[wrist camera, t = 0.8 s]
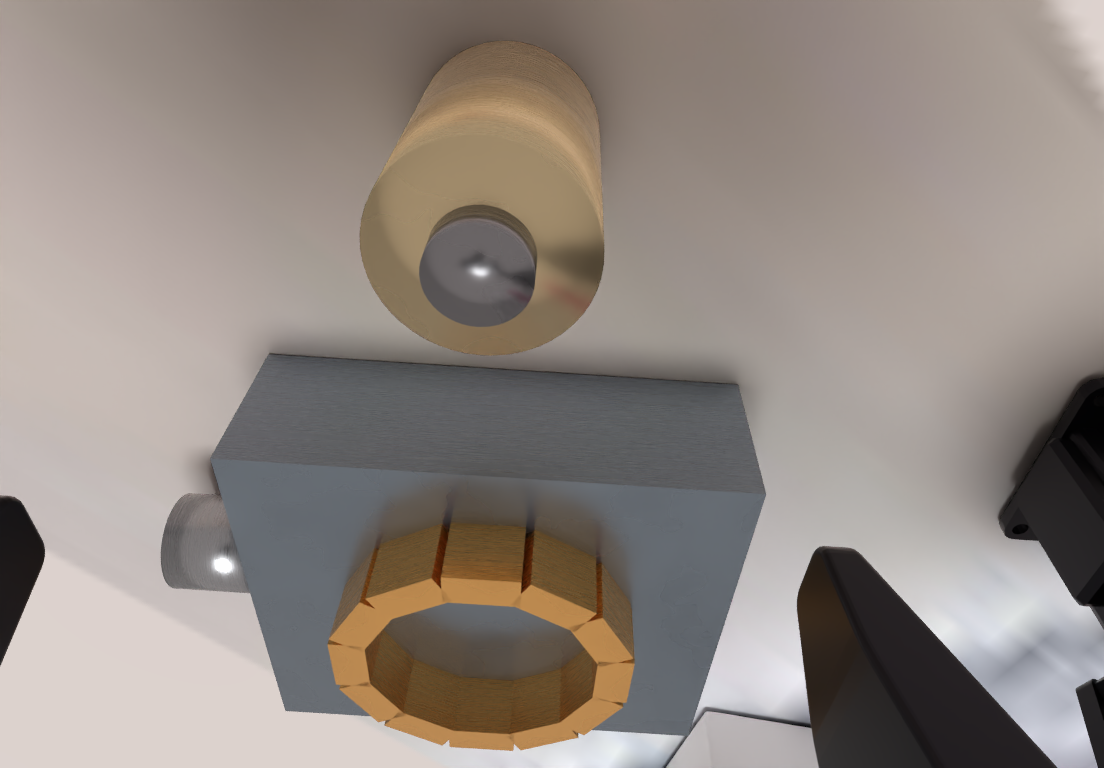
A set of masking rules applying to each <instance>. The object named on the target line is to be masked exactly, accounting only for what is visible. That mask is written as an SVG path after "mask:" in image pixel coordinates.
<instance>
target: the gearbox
mask: <svg viewBox="0 0 1104 768" xmlns="http://www.w3.org/2000/svg"><path fill="white" fill-rule="evenodd" d="M210 460H211V463H212V467H213V470H214V473H215V477H216V480H217V483H218V487H219V490H220V493H221V495H209V494H193V493H189V494H186V495H184V496H183V497H181V498H180V499H179V500H178V502H177V503H176V504H175V506H174V507H173V509H172V511H171V513H170V515H169V517H168V520H167V523H166V526H165V530H164V534H163V539H162V546H161V567H162V572H163V576H164V579H165V581H166V582H167V584H168V585H169V586H170V587H172V588H176V589H192V590H208V591H223V592H239V593H250V594H251V597H252V600H253V604H254V607H255V610H256V614H257V617H258V620H259V624H260V627H261V630H262V634H263V637H264V640H265V644H266V647H267V650H268V654H269V657H270V660H271V664H272V667H273V670H274V674H275V677H276V681H277V683H278V687H279V690H280V694H281V697H282V700H283V704H284V707H285V710H286V711H298V712H313V713H330V714H345V715H361V716H372V717H373V718H374V719H375V720H376V721H378V722H382V721H385V726H387V727H390V728H393V729H396V730H399V731H402V732H405V733H408V734H411V735H414V736H417V737H419V738H422V739H425V740H428V741H431V742H434V743H437V744H440V745H443V744H444V743H446V742H447V741H448V740H449V742H450V747H461V748H477V749H493V750H509V751H513V748H514V744H515V745H516V746H517V747H518V748H519V749H520V750H524V749H529V748H533V747H538V746H542V745H547V744H551V743H556V742H560V741H565V740H569V739H574V738H578V733H580V734H583V735H585V734H586V733H588V732H589V731H591V730H602V731H618V732H634V733H650V734H666V735H682V736H688V735H689V732H690V728H691V725H692V722H693V719H694V716H695V713H696V710H697V707H698V704H699V701H700V697H701V694H702V691H703V688H704V685H705V682H706V679H707V676H708V673H709V670H710V667H711V663H712V660H713V657H714V654H715V651H716V648H717V645H718V642H719V639H720V636H721V632H722V629H723V626H724V623H725V620H726V617H727V614H728V611H729V608H730V605H731V601H732V598H733V595H734V592H735V589H736V586H737V583H738V580H739V577H740V574H741V571H742V567H743V564H744V561H745V558H746V555H747V552H748V549H749V546H750V543H751V540H752V536H753V533H754V530H755V527H756V524H757V521H758V518H759V515H760V512H761V509H762V505H763V502H764V499H765V496H766V492H765V488H764V484H763V480H762V476H761V472H760V468H759V465H758V461H757V457H756V453H755V449H754V445H753V441H752V437H751V433H750V429H749V425H748V422H747V418H746V414H745V410H744V406H743V402H742V398H741V394H740V390H739V386H738V385H733V384H717V383H702V382H687V381H671V380H656V379H641V378H625V377H610V376H595V375H579V374H564V373H548V372H533V371H518V370H502V369H487V368H472V367H456V366H441V365H426V364H410V363H395V362H380V361H364V360H349V359H333V358H318V357H303V356H287V355H272V354H269V355H268V356H267V358H266V360H265V362H264V364H263V365H262V367H261V369H260V371H259V372H258V374H257V376H256V378H255V380H254V381H253V383H252V385H251V387H250V388H249V390H248V392H247V394H246V396H245V397H244V399H243V401H242V403H241V404H240V406H239V408H238V410H237V412H236V413H235V415H234V417H233V419H232V420H231V422H230V424H229V426H228V428H227V429H226V431H225V433H224V435H223V436H222V438H221V440H220V442H219V444H218V445H217V447H216V449H215V451H214V453H213V454H212V456H211V458H210Z"/></svg>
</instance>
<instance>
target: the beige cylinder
mask: <svg viewBox="0 0 1104 768" xmlns="http://www.w3.org/2000/svg"><path fill="white" fill-rule="evenodd" d="M360 249H361V255H362V261H363V264H364V267H365V270H366V274H367V276H368V278H369V281H370V283H371V285H372V287H373V289H374V290H375V292H376V294H377V295H378V297H379V298H380V300H381V301H382V303H383V304H384V305H385V306H386V307H387V309H388V310H389V311H390V312H391V313H392V314H393V315H394V316H395V317H396V318H397V319H398V320H399V321H400V322H401V323H403V324H404V325H405V326H407V327H408V328H409V329H410V330H412V331H413V332H415V333H416V334H418V335H420V336H421V337H423V338H425V339H427V340H429V341H431V342H433V343H435V344H437V345H440V346H442V347H445V348H448V349H451V350H455V351H459V352H463V353H468V354H476V355H506V354H513V353H518V352H523V351H527V350H530V349H533V348H536V347H539V346H541V345H543V344H545V343H547V342H549V341H551V340H553V339H554V338H556V337H558V336H559V335H561V334H562V333H564V332H565V331H566V330H567V329H569V328H570V327H571V326H572V325H573V324H574V323H575V322H576V321H577V320H578V319H579V318H580V317H581V316H582V315H583V313H584V312H585V311H586V309H587V308H588V306H589V305H590V303H591V301H592V299H593V298H594V296H595V294H596V292H597V289H598V286H599V283H600V280H601V276H602V271H603V266H604V231H603V205H602V178H601V152H600V130H599V120H598V116H597V112H596V108H595V105H594V103H593V100H592V97H591V95H590V93H589V92H588V90H587V88H586V86H585V85H584V83H583V82H582V81H581V79H580V78H579V76H578V75H577V74H576V73H575V72H574V71H573V70H572V69H571V68H570V67H569V66H568V65H567V64H566V63H564V62H563V61H562V60H561V59H559V58H558V57H556V56H555V55H553V54H551V53H550V52H548V51H546V50H544V49H541V48H539V47H537V46H533V45H530V44H526V43H522V42H515V41H494V42H487V43H483V44H480V45H476V46H473V47H471V48H469V49H466V50H464V51H462V52H461V53H459V54H457V55H456V56H454V57H453V58H451V59H450V60H449V61H448V62H447V63H446V64H445V65H443V66H442V67H441V69H440V70H439V71H438V72H437V73H436V74H435V76H434V77H433V79H432V80H431V82H430V84H429V85H428V87H427V89H426V91H425V93H424V94H423V96H422V98H421V100H420V102H419V104H418V106H417V107H416V109H415V111H414V113H413V115H412V117H411V119H410V120H409V122H408V124H407V126H406V128H405V130H404V132H403V133H402V135H401V137H400V139H399V141H398V143H397V145H396V146H395V148H394V150H393V152H392V154H391V156H390V158H389V159H388V161H387V163H386V165H385V167H384V169H383V171H382V172H381V174H380V176H379V178H378V180H377V182H376V184H375V185H374V187H373V189H372V191H371V193H370V195H369V198H368V200H367V202H366V204H365V208H364V211H363V215H362V219H361V227H360Z"/></svg>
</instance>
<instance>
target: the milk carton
mask: <svg viewBox="0 0 1104 768" xmlns="http://www.w3.org/2000/svg"><path fill="white" fill-rule="evenodd" d="M666 768H819V766H818V762H817V757H816V752H815V747H814V742H813V736H812V729H811V728H807V727H801V726H795V725H789V724H783V723H777V722H771V721H765V720H759V719H753V718H747V717H741V716H736V715H730V714H723V713H717V712H708V711H707V712H705V713H704V715H703V716H702V717H701V719H700V720H699V722H698V723H697V724H696V726H695V727H694V729H693V730H692V731H691V733H690V734H689V736H688V737H687V739H686V740H685V741H684V743H683V744H682V746H681V747H680V748H679V750H678V751H677V753H676V754H675V756H674V757H673V758H672V760H671V761H670V763H669V764H668V766H667V767H666Z"/></svg>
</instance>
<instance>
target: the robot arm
mask: <svg viewBox="0 0 1104 768" xmlns="http://www.w3.org/2000/svg"><path fill="white" fill-rule="evenodd" d="M1101 394H1102V395H1101ZM1099 395H1101V396H1099ZM1097 396H1099V397H1097ZM1096 397H1097V398H1096ZM999 525H1000V527H1001V529H1002V531H1003V532H1004V534H1005V536H1007V537H1008V538H1011V539H1019V540H1035V541H1039V542H1040V544H1041V545H1042V547H1043V548H1044V550H1045V552H1046V553H1047V555H1048V557H1049V558H1050V560H1051V562H1052V563H1053V565H1054V567H1055V568H1056V570H1057V572H1058V573H1059V575H1060V577H1061V578H1062V580H1063V582H1064V583H1065V585H1066V587H1067V588H1068V590H1069V592H1070V593H1071V595H1072V597H1073V598H1074V599H1075V600H1076V602H1077V603H1078V604H1079V605H1082V606H1090V608H1091V609H1092V611H1093V613H1094V614H1095V616H1096V617H1097V619H1098V621H1099V622H1100V624H1101V626H1102V627H1103V629H1104V378H1098V379H1094V380H1091V381H1089V382H1087V383H1086V384H1084V385H1083V386H1082V387H1081V388H1080V389H1079V390H1078V392H1077V393H1076V395H1075V397H1074V398H1073V400H1072V402H1071V403H1070V405H1069V407H1068V408H1067V410H1066V411H1065V413H1064V415H1063V416H1062V418H1061V420H1060V421H1059V423H1058V425H1057V426H1056V428H1055V430H1054V431H1053V433H1052V435H1051V436H1050V438H1049V439H1048V441H1047V443H1046V444H1045V446H1044V448H1043V449H1042V451H1041V453H1040V454H1039V456H1038V458H1037V459H1036V461H1035V463H1034V464H1033V466H1032V467H1031V469H1030V471H1029V472H1028V474H1027V476H1026V477H1025V479H1024V481H1023V482H1022V484H1021V486H1020V487H1019V489H1018V491H1017V492H1016V494H1015V495H1014V497H1013V499H1012V500H1011V502H1010V504H1009V505H1008V507H1007V509H1006V510H1005V512H1004V514H1003V515H1002V517H1001V519H1000V521H999ZM44 557H45V547H44V543H43V540H42V538H41V537H40V535H39V533H38V531H37V529H36V527H35V526H34V524H33V522H32V520H31V518H30V516H29V514H28V513H27V511H26V509H25V507H24V505H23V504H22V502H21V501H20V500H18V499H17V498H15V497H12V496H1V495H0V665H1V663H2V661H3V658H4V656H5V654H6V651H7V649H8V646H9V644H10V642H11V639H12V637H13V635H14V632H15V630H16V627H17V625H18V622H19V620H20V618H21V615H22V613H23V611H24V608H25V606H26V603H27V601H28V599H29V597H30V594H31V592H32V589H33V587H34V585H35V582H36V580H37V578H38V575H39V573H40V570H41V568H42V565H43V562H44ZM797 613H798V622H799V630H800V638H801V647H802V655H803V663H804V672H805V680H806V689H807V697H808V705H809V714H810V722H811V729H812V736H813V742H814V747H815V752H816V757H817V762H818V766H819V768H1057V767H1056V766H1055V764H1054V763H1053V762H1052V761H1051V760H1050V759H1049V758H1048V757H1047V756H1046V755H1045V754H1044V753H1043V751H1042V750H1041V749H1040V748H1039V747H1038V746H1037V745H1036V744H1035V743H1034V742H1033V741H1032V740H1031V738H1030V737H1029V736H1028V735H1027V734H1026V733H1025V732H1024V731H1023V730H1022V729H1021V728H1020V726H1019V725H1018V724H1017V723H1016V722H1015V721H1014V720H1013V719H1012V718H1011V717H1010V716H1009V715H1008V713H1007V712H1006V711H1005V710H1004V709H1003V708H1002V707H1001V706H1000V705H999V704H998V703H997V702H996V700H995V699H994V698H993V697H992V696H991V695H990V694H989V693H988V692H987V691H986V690H985V688H984V687H983V686H982V685H981V684H980V683H979V682H978V681H977V680H976V679H975V678H974V677H973V675H972V674H971V673H970V672H969V671H968V670H967V669H966V668H965V667H964V666H963V665H962V664H961V662H960V661H959V660H958V659H957V658H956V657H955V656H954V655H953V654H952V653H951V652H950V651H949V649H948V648H947V647H946V646H945V645H944V644H943V643H942V642H941V641H940V640H939V639H938V637H937V636H936V635H935V634H934V633H933V632H932V631H931V630H930V629H929V628H928V627H927V626H926V624H925V623H924V622H923V621H922V620H921V619H920V618H919V617H918V616H917V615H916V614H915V613H914V611H913V610H912V609H911V608H910V607H909V606H908V605H907V604H906V603H905V602H904V601H903V599H902V598H901V597H900V596H899V595H898V594H897V593H896V592H895V591H894V590H893V589H892V588H891V586H890V585H889V584H888V583H887V582H886V581H885V580H884V579H883V578H882V577H881V576H880V575H879V573H878V572H877V571H876V570H875V569H874V568H873V567H872V566H871V565H870V564H869V563H868V562H867V560H866V559H865V558H864V557H863V556H862V555H861V554H860V553H859V552H857V551H856V550H854V549H852V548H845V547H829V546H822V547H819V548H817V549H816V550H815V552H814V553H813V555H812V558H811V560H810V563H809V565H808V568H807V571H806V573H805V576H804V578H803V581H802V583H801V586H800V589H799V592H798V597H797ZM1076 693H1077V697H1078V700H1079V704H1080V707H1081V710H1082V714H1083V717H1084V721H1085V724H1086V728H1087V731H1088V735H1089V738H1090V742H1091V745H1092V748H1093V752H1094V755H1095V759H1096V762H1097V766H1098V768H1104V677H1103V678H1101V679H1099V680H1096V679H1091V680H1090V681H1088V682H1086V683H1084V684H1083V685H1081V686H1079V687H1077V688H1076Z"/></svg>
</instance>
